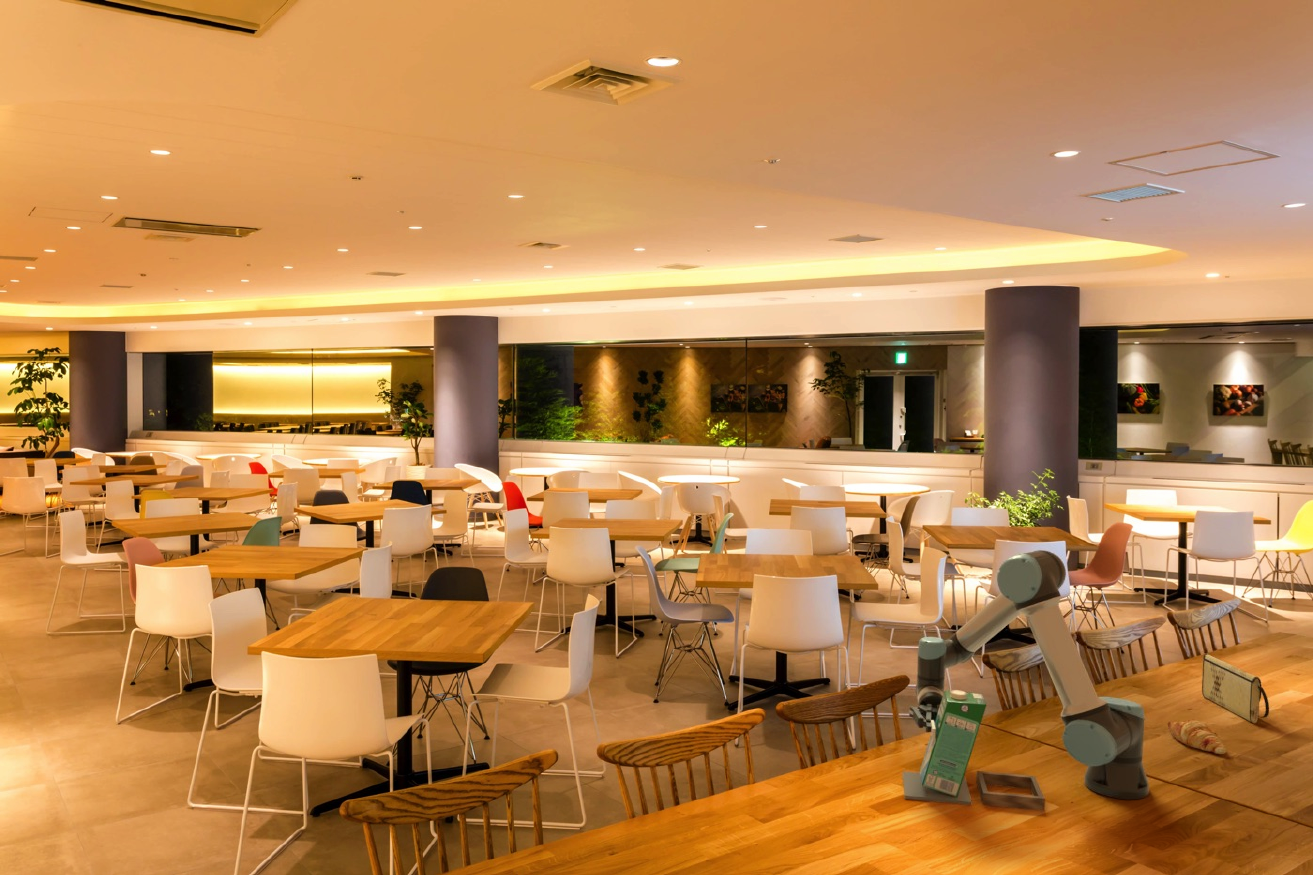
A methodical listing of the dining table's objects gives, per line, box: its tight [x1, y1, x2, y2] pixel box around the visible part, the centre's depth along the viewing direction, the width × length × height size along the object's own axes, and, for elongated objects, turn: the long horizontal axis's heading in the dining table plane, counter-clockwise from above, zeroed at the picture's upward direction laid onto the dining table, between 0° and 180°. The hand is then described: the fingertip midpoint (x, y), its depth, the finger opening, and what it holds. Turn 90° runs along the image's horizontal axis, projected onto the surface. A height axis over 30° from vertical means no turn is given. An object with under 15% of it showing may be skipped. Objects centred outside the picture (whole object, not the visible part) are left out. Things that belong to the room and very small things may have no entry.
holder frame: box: [976, 770, 1046, 812], centre depth 250 cm, size 14×14×3 cm
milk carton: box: [919, 689, 987, 797], centre depth 251 cm, size 9×9×25 cm
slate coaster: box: [902, 770, 972, 806], centre depth 254 cm, size 16×16×1 cm
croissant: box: [1167, 719, 1227, 755], centre depth 289 cm, size 21×10×8 cm, turn 16°
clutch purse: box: [1201, 653, 1270, 724], centre depth 320 cm, size 30×7×15 cm, turn 2°
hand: (938, 734), depth 248 cm, fingers open, 2 cm apart
